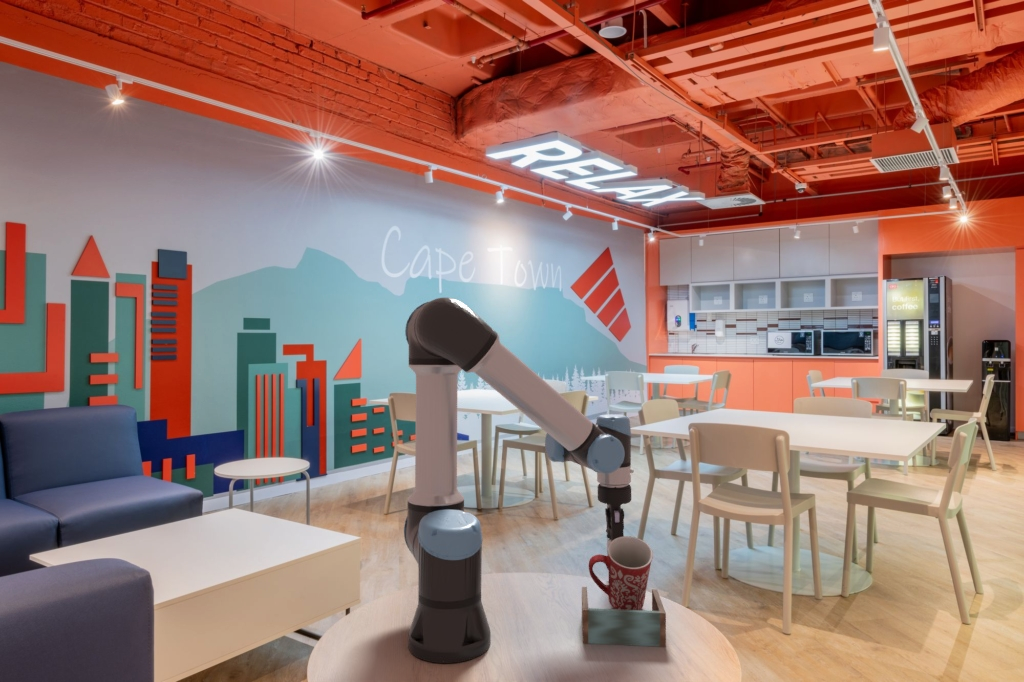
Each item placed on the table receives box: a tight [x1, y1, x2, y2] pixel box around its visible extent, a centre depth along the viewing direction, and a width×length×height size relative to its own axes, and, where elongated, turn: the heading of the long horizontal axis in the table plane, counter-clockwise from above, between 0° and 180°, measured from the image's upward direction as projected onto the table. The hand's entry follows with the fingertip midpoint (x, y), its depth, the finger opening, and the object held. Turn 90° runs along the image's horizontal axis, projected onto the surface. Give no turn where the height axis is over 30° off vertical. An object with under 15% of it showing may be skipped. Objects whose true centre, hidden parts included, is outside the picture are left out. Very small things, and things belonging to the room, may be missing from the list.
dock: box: [581, 586, 667, 648], centre depth 123 cm, size 15×12×6 cm
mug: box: [588, 535, 654, 610], centre depth 132 cm, size 13×9×14 cm
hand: (615, 578), depth 145 cm, fingers open, 13 cm apart
